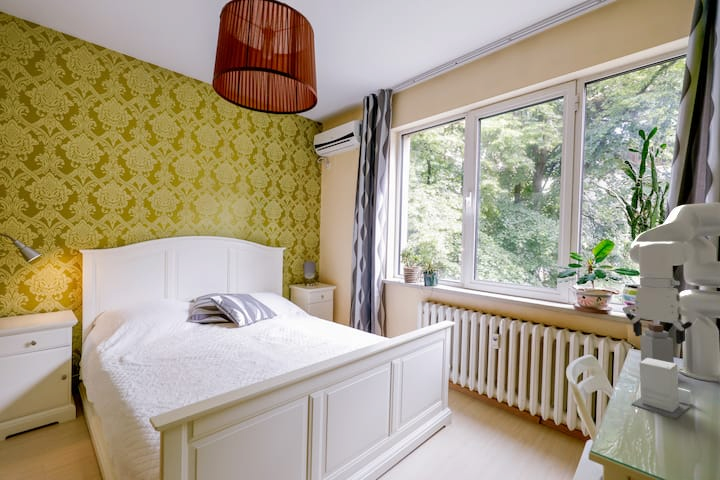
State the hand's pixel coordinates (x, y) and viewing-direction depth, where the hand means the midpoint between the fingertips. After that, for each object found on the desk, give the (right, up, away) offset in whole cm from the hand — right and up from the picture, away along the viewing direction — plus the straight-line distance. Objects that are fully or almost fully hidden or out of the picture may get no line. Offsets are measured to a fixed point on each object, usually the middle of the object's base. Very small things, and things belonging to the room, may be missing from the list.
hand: (658, 339), depth 99 cm
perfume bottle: (+23, -21, +25) cm, 40 cm away
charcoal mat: (0, -20, 0) cm, 20 cm away
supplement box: (0, -20, 0) cm, 20 cm away
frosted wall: (+7, -20, +5) cm, 22 cm away
